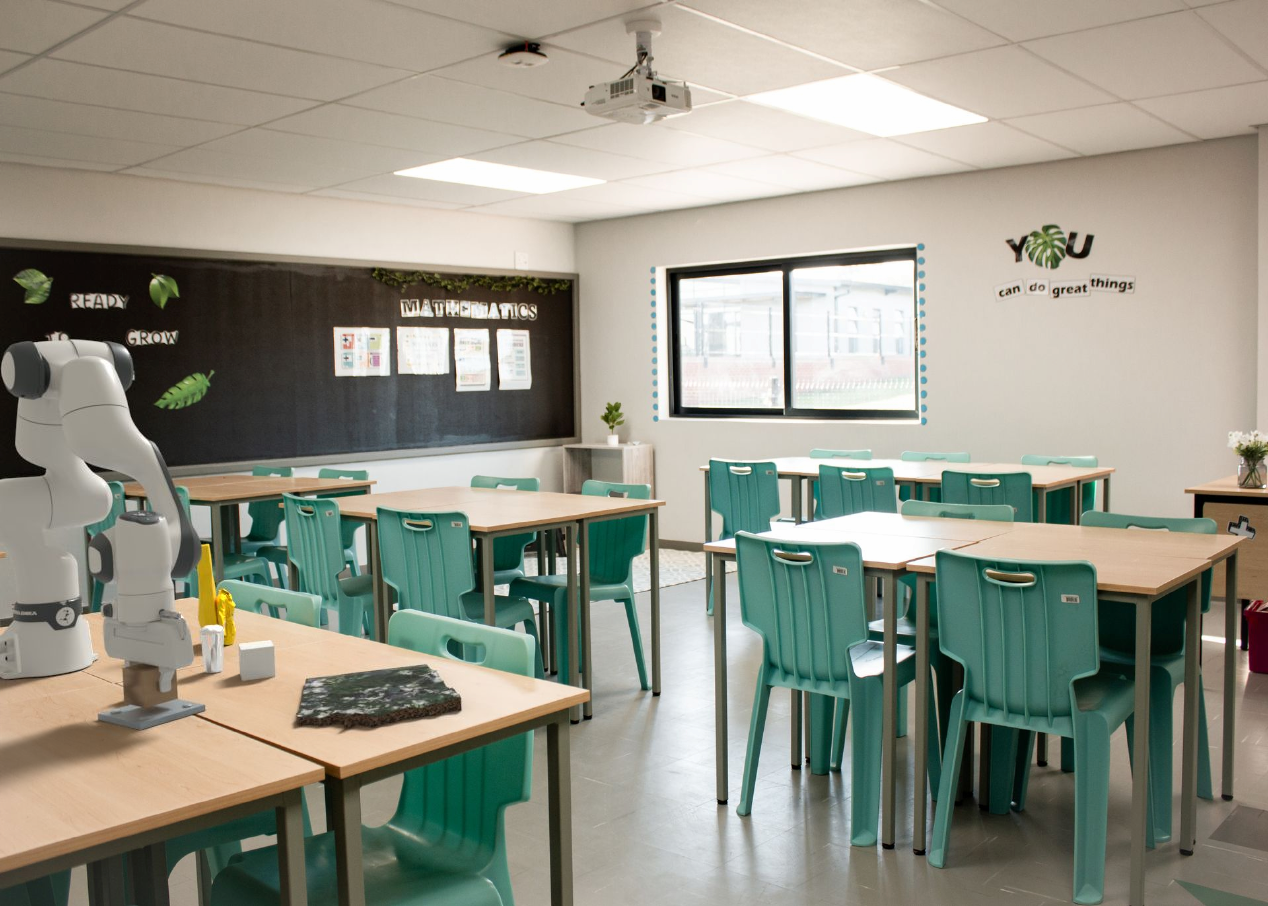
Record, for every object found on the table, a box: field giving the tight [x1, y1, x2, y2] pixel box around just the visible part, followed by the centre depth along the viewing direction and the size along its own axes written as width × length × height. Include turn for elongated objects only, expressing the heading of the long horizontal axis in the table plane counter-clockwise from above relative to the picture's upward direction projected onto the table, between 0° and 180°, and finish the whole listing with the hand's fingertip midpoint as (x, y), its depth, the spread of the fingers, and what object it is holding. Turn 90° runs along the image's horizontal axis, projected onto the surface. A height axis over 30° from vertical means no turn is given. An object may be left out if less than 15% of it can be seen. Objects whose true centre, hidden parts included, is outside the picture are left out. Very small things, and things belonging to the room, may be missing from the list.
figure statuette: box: [196, 543, 237, 646], centre depth 234 cm, size 18×8×22 cm, turn 17°
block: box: [121, 663, 179, 708], centre depth 181 cm, size 6×6×6 cm
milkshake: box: [199, 621, 226, 674], centre depth 210 cm, size 4×5×10 cm
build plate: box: [97, 698, 206, 731], centre depth 181 cm, size 12×12×1 cm
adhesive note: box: [238, 639, 276, 682], centre depth 206 cm, size 6×6×6 cm
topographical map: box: [296, 663, 463, 730], centre depth 187 cm, size 26×33×3 cm
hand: (150, 688), depth 181 cm, fingers closed on block, 6 cm apart
